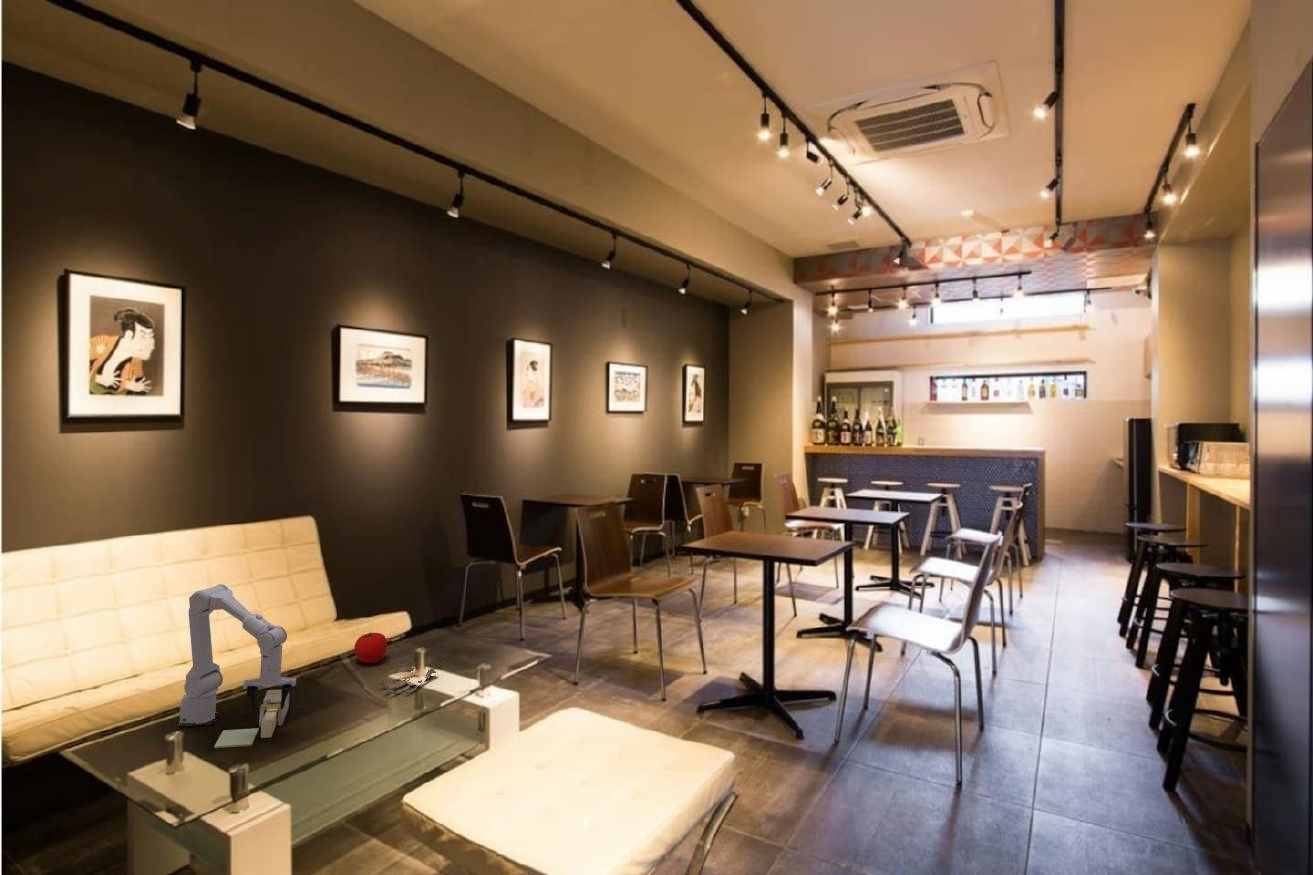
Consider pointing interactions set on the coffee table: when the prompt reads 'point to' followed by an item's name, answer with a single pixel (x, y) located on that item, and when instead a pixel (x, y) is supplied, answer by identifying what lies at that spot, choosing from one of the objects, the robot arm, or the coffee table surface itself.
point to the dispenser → (274, 705)
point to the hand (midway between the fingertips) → (268, 708)
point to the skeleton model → (405, 669)
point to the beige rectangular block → (269, 723)
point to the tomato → (370, 647)
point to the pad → (236, 738)
